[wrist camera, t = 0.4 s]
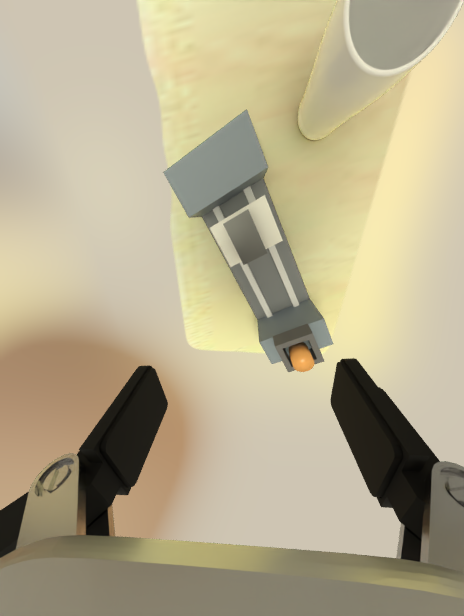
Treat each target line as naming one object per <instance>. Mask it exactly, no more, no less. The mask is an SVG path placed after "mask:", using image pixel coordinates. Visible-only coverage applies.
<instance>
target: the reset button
mask: <svg viewBox="0 0 464 616" xmlns="http://www.w3.org/2000/svg"><path fill="white" fill-rule="evenodd" d="M288 351H289V355H290V358H291V361H292V365H293V368H294V369H295V370H297V371H300V372H305V371H308V370H310V369H312V368H313V366H314V360H313V358H312V355H311V353H310V351H309V349H308V346H307V345H306V344H305V343H303V342H301V343H298V344H295V345H292V346H290V347H289V349H288Z"/></svg>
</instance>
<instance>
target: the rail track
mask: <svg viewBox="0 0 464 616" xmlns="http://www.w3.org/2000/svg"><path fill="white" fill-rule="evenodd" d="M267 169H268V165H267V163H266V160H265V157H264V155H263V152H262V149H261V146H260V144H259V141H258V138H257V136H256V133H255V130H254V127H253V125H252V122H251V119H250V117H249V114H248V111H247V109H246V110H245V111H244V112H242V113H241V114H240V115H238V116H237V117H236V118H234V119H233V120H232V121H230V122H229V123H228V124H227V125H225V126H224V127H223V128H221V129H220V130H219V131H217V132H216V133H215V134H213V135H212V136H211V137H209V138H208V139H207V140H205V141H204V142H203V143H201V144H200V145H199V146H197V147H196V148H195V149H193V150H192V151H191V152H189V153H188V154H187V155H185V156H184V157H183V158H182V159H180V160H179V161H178V162H176V163H175V164H174V165H172V166H171V167H170V168H168V169H167V170H166V171H164V174H165V176H166V178H167V180H168V181H169V183H170V185H171V187H172V189H173V190H174V192H175V194H176V196H177V197H178V199H179V201H180V203H181V204H182V206H183V208H184V210H185V212H186V213H187V215H188V217H189V218H191V217H202V218H203V219H204V221H205V223H206V225H207V227H208V229H209V231H210V232H211V230H210V227H212V226H213V225H215V224H217V223H218V222H220V221H222V220H223V219H225V218H227V217H228V216H230V215H232V214H234V213H235V212H237V211H239V210H240V209H242V208H244V207H245V206H247V205H249V204H250V203H252V202H254V201H255V200H257V199H259V198H260V197H262V196H264V195H265V197H266V199H267V202H268V204H269V207H270V209H271V212H272V214H273V217H274V220H275V222H276V225H277V227H278V230H279V232H280V235H281V237H282V240H283V241H281V242H279V243H277V244H275V245H273V246H271V247H269V248H267V249H266V251H267V254H265V255H263V256H261V257H259V258H257V259H255V260H253V261H251V262H249V263H247V264H245V265H243V263H242V262H240V263H238V264H236V265H234V266H232V267H230V265H229V264H228V262H227V260H226V258H225V256H224V254H223V252H222V250H221V249H220V247H219V245H218V243H217V241H216V239H215V237H214V236H213V234H212V232H211V234H212V236H213V238H214V240H215V242H216V244H217V245H218V247H219V249H220V251H221V253H222V255H223V257H224V258H225V260H226V262H227V264H228V266H229V268H230V270H231V271H232V273H233V275H234V277H235V279H236V281H237V283H238V284H239V286H240V288H241V290H242V292H243V294H244V296H245V297H246V299H247V301H248V303H249V305H250V307H251V309H252V310H253V312H254V314H255V316H256V318H257V320H258V331H259V342H260V344H261V346H262V348H263V349H264V351H265V353H266V355H267V356H268V358H269V360H270V362H271V363H272V364H274V363H277V362H280V361H283V363H284V365H285V367H286V369H287V371H288V372H291V371H294V370H295V369H294V368H293V365H292V361H291V358H290V355H289V351H288V349H289V347H290V346H292V345H295V344H298V343H301V342H303V343H305V344H306V345H307V346H308V349H309V351H310V353H311V355H312V358H313V360H314V364H317V363H320V362H324V359H323V357H322V354H321V352H320V350H319V349H320V348H323V347H326V346H329V345H332V344H333V342H332V339H331V336H330V334H329V331H328V328H327V326H326V323H325V320H324V318H323V317H322V315H321V314H320V312H319V311H318V310H317V308H316V307H315V305H314V304H313V303H312V301H311V300H310V298H309V296H308V293H307V291H306V288H305V285H304V283H303V280H302V278H301V275H300V272H299V270H298V267H297V265H296V262H295V260H294V257H293V254H292V252H291V249H290V247H289V244H288V241H287V239H286V236H285V234H284V231H283V228H282V226H281V223H280V221H279V218H278V215H277V213H276V210H275V208H274V205H273V202H272V200H271V197H270V195H269V192H268V189H267V187H266V184H265V182H264V179H263V178H264V175H265V173H266V171H267Z"/></svg>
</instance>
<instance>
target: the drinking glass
mask: <svg viewBox="0 0 464 616" xmlns="http://www.w3.org/2000/svg"><path fill="white" fill-rule="evenodd" d="M463 2H464V0H337V1H336V3H335V6H334V8H333V11H332V13H331V16H330V18H329V21H328V24H327V26H326V29H325V32H324V35H323V38H322V41H321V44H320V47H319V50H318V53H317V56H316V59H315V62H314V66H313V69H312V72H311V75H310V78H309V81H308V84H307V87H306V90H305V93H304V96H303V98H302V100H301V103H300V106H299V109H298V126H299V129H300V131H301V133H302V134H303V135H304V136H305V137H306V138H308V139H310V140H320V139H323V138H325V137H326V136H328V135H329V134H330V133H331V132H332V131H333V130H335V129H336V128H337V127H339V126H340V125H342V124H343V123H344V122H346V121H347V120H349V119H350V118H352V117H353V116H355V115H356V114H358V113H359V112H360V111H362V110H363V109H365V108H366V107H368V106H369V105H371V104H372V103H373V102H375V101H376V100H377V99H379V98H380V97H381V96H383V95H384V94H385V93H386V92H388V91H389V90H390V89H391V88H392V87H394V86H395V85H396V84H397V83H398V82H399V81H400V80H401V79H403V78H404V77H405V76H406V75H407V74H408V73H409V72H410V71H411V70H412V69H413V68H414V67H415V66H416V65H417V64H418V63H419V62H420V61H421V60H422V59H424V58H425V57H426V56H427V55H428V54H429V53H430V52H431V51H432V50H433V49H434V48H435V46H436V45H437V44H438V43H439V42H440V40H441V39H442V38H443V36H444V35H445V34H446V32H447V31H448V29H449V28H450V26H451V25H452V23H453V22H454V20H455V18H456V16H457V15H458V13H459V11H460V8H461V7H462V5H463Z"/></svg>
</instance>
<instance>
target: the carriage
mask: <svg viewBox="0 0 464 616" xmlns="http://www.w3.org/2000/svg"><path fill="white" fill-rule="evenodd" d="M210 230H211V232H212V234H213V236H214V237H215V239H216V241H217V243H218V245H219V247H220V249H221V250H222V252H223V254H224V256H225V258H226V260H227V262H228V264H229V265H230V267H232V266H234V265H236V264H238V263H240V262H242V263H243V265H245V264H247V263H249V262H251V261H253V260H255V259H257V258H259V257H261V256H263V255H265V254H267V251H266V249H267V248H269V247H271V246H273V245H275V244H277V243H279V242H281V241H283V240H282V237H281V235H280V232H279V230H278V227H277V225H276V222H275V220H274V217H273V214H272V212H271V209H270V207H269V204H268V202H267V199H266V197H265V195H264V196H262V197H260V198H259V199H257V200H255V201H254V202H252V203H250V204H249V205H247V206H245V207H244V208H242V209H240V210H239V211H237V212H235V213H234V214H232V215H230V216H228V217H227V218H225V219H223V220H222V221H220V222H218V223H217V224H215V225H213V226H212V227H210Z"/></svg>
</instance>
